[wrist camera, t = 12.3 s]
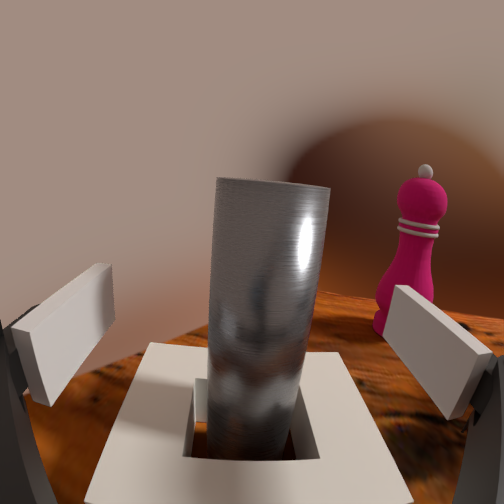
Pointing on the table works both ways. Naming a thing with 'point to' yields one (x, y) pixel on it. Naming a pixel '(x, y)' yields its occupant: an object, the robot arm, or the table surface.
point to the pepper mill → (413, 242)
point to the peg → (260, 311)
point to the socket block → (243, 472)
